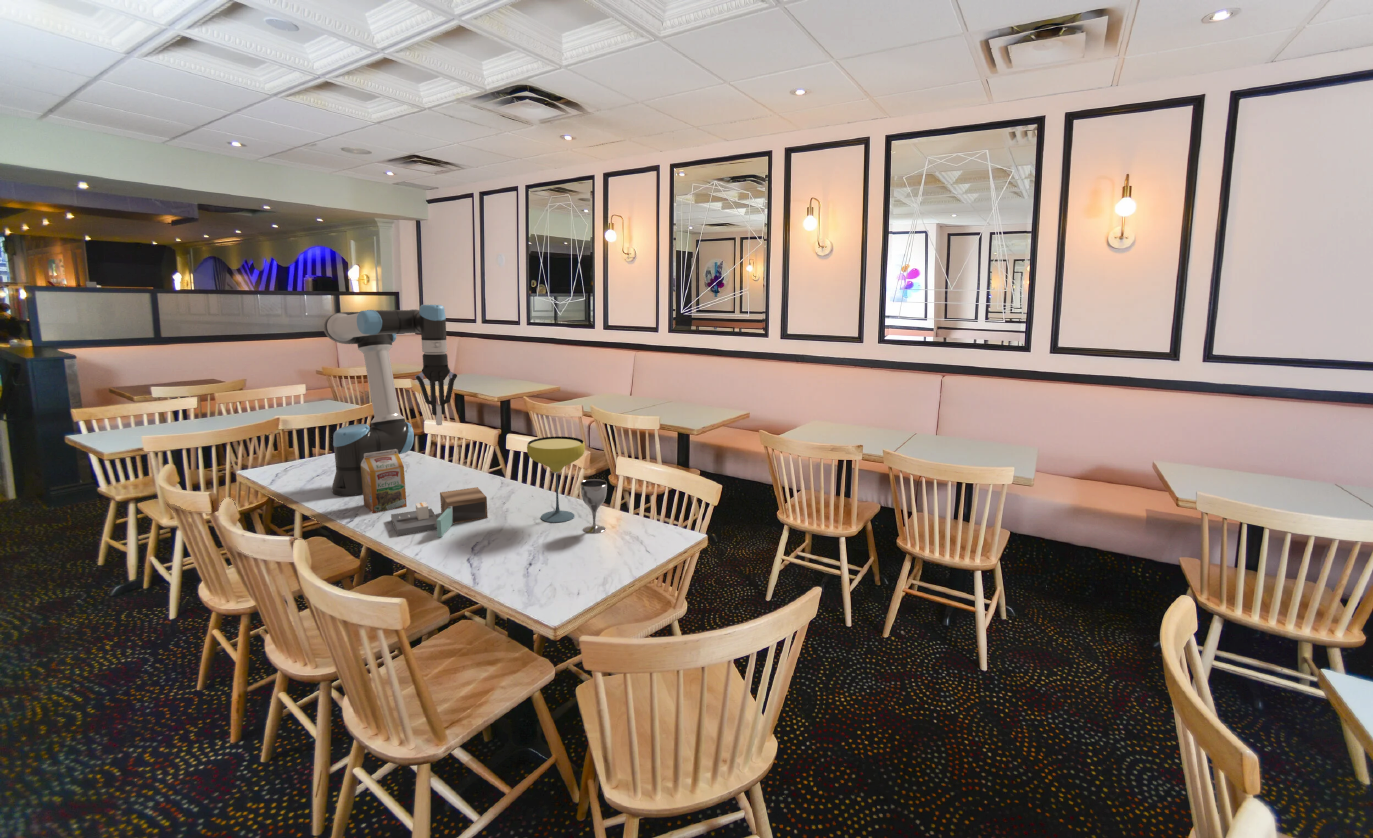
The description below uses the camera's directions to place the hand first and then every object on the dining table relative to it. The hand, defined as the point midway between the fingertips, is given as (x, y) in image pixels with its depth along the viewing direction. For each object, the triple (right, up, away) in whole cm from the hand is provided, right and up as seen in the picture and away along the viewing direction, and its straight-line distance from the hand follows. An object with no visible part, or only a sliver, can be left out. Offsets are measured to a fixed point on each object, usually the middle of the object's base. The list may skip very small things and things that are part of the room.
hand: (439, 424), depth 207 cm
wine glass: (+53, -33, -13) cm, 64 cm away
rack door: (+8, -32, -16) cm, 37 cm away
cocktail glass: (+40, -30, -2) cm, 50 cm away
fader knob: (-1, -29, -11) cm, 31 cm away
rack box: (+9, -30, -2) cm, 31 cm away
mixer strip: (-3, -31, -11) cm, 33 cm away
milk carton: (-20, -28, +5) cm, 35 cm away
